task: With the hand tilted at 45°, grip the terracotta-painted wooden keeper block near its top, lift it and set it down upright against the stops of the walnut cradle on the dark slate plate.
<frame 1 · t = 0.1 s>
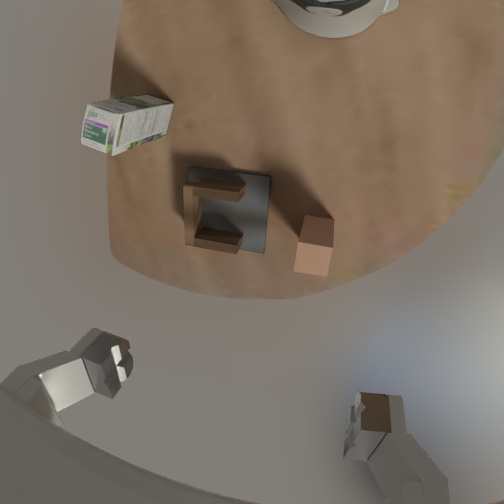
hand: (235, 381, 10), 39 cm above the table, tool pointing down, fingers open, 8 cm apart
keeper block: (317, 230, 49), on the table
stop cradle: (224, 209, 51), on the table
syrup box: (156, 113, 46), on the table
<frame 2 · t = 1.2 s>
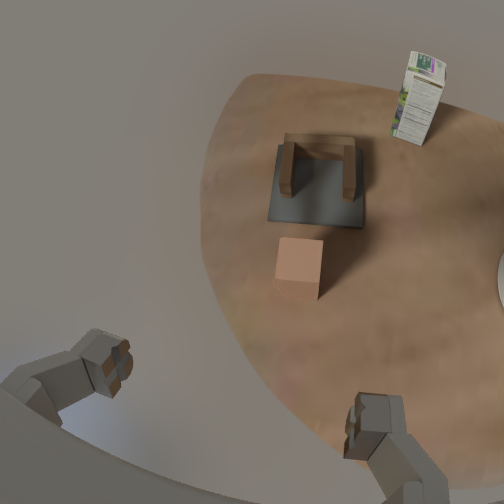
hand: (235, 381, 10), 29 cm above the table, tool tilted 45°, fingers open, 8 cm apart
keeper block: (301, 281, 41), on the table
stop cradle: (318, 181, 45), on the table
syrup box: (408, 130, 46), on the table
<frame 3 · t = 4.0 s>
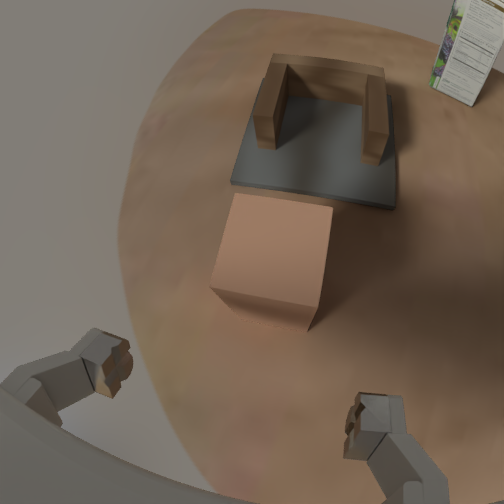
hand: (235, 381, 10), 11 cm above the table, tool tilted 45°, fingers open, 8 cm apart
keeper block: (280, 294, 22), on the table
stop cradle: (321, 130, 26), on the table
syrup box: (452, 86, 28), on the table
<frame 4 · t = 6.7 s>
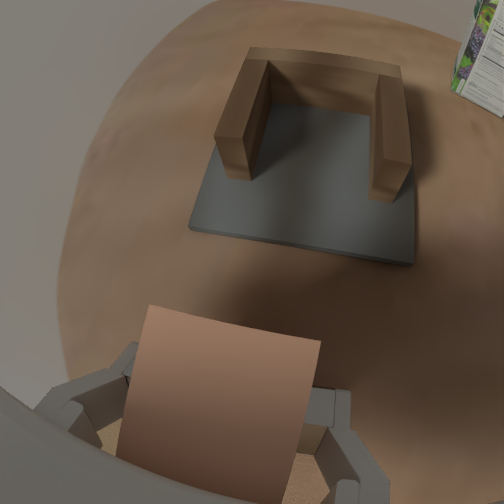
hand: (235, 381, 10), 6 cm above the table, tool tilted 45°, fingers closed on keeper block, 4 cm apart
keeper block: (251, 388, 15), on the table, touching gripper
stop cradle: (315, 150, 20), on the table
syrup box: (477, 91, 21), on the table
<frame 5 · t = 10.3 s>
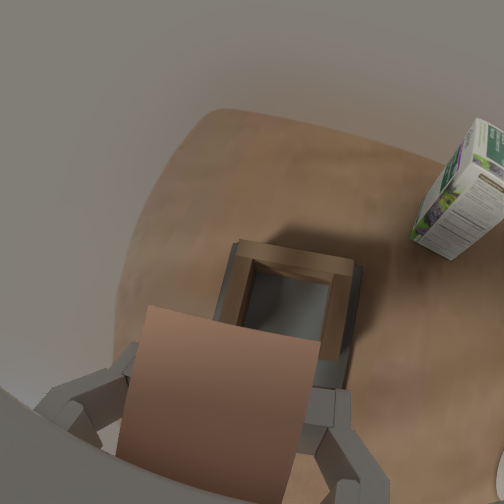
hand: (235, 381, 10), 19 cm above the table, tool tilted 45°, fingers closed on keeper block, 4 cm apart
keeper block: (251, 389, 15), point 13 cm above the table, touching gripper
stop cradle: (285, 315, 30), on the table
syrup box: (436, 230, 31), on the table
when the fingers open (8 cm above the table, at t = 13.9 s): keeper block drops 1 cm, resting on stop cradle.
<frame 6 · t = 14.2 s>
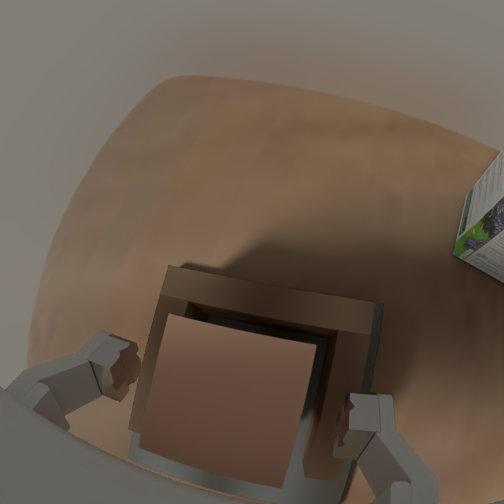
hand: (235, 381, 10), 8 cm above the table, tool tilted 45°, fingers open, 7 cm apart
keeper block: (254, 386, 17), point 1 cm above the table, touching stop cradle
stop cradle: (254, 386, 17), on the table
syrup box: (487, 240, 19), on the table
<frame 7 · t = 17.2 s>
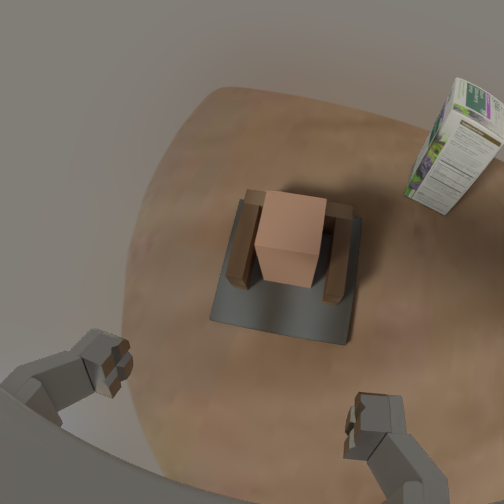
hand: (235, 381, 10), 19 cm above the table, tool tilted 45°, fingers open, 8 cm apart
keeper block: (291, 261, 31), point 1 cm above the table, touching stop cradle
stop cradle: (290, 263, 32), on the table
syrup box: (429, 189, 33), on the table
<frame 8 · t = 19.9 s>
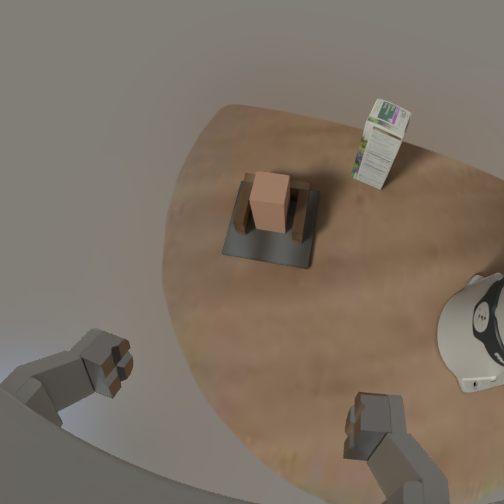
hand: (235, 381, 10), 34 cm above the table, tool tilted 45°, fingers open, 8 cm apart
keeper block: (273, 218, 50), point 1 cm above the table, touching stop cradle
stop cradle: (273, 219, 50), on the table
syrup box: (370, 173, 52), on the table
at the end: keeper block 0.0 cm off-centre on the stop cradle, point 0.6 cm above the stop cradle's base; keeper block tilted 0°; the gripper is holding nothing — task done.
